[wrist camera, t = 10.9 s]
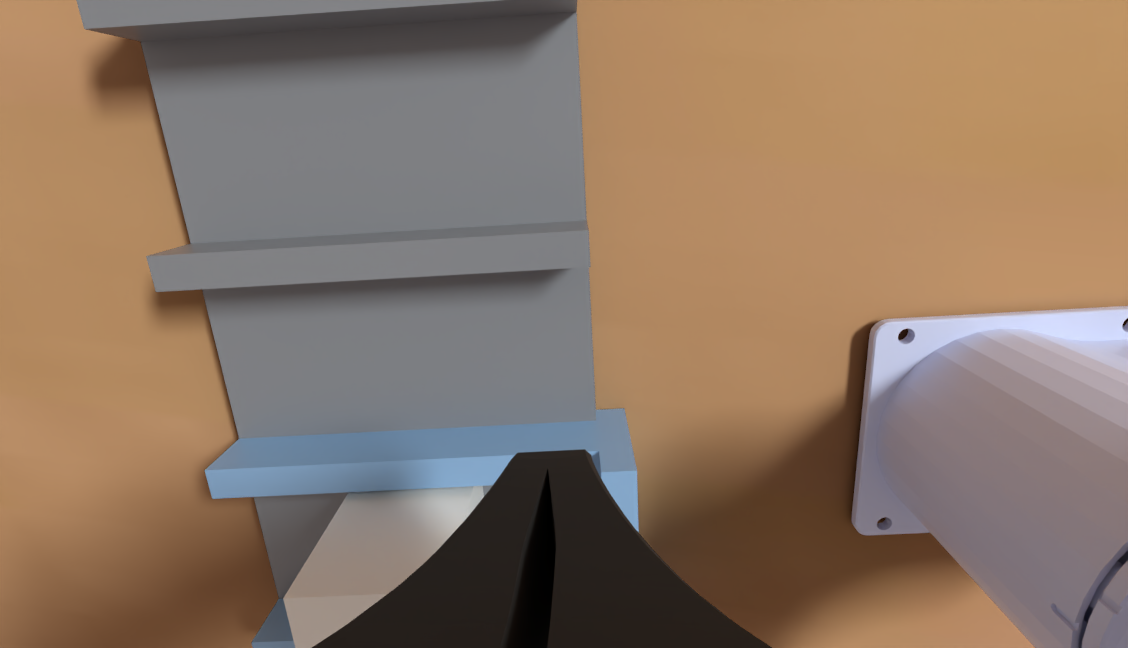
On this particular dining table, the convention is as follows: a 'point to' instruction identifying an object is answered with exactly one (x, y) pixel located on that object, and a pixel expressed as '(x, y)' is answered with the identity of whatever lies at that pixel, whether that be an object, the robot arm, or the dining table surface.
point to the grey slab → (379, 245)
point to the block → (371, 554)
